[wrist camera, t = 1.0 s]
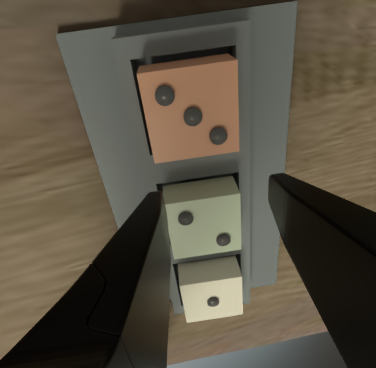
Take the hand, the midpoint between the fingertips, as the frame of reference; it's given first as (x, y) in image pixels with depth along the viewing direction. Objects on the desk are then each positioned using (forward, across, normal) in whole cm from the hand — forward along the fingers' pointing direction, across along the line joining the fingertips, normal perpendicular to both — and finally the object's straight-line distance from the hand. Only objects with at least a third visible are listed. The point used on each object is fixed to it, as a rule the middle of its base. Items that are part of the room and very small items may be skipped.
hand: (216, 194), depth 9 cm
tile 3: (+10, 0, 0) cm, 10 cm away
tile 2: (+10, 0, +8) cm, 13 cm away
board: (+12, 0, +8) cm, 14 cm away
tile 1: (+10, 0, +16) cm, 19 cm away
